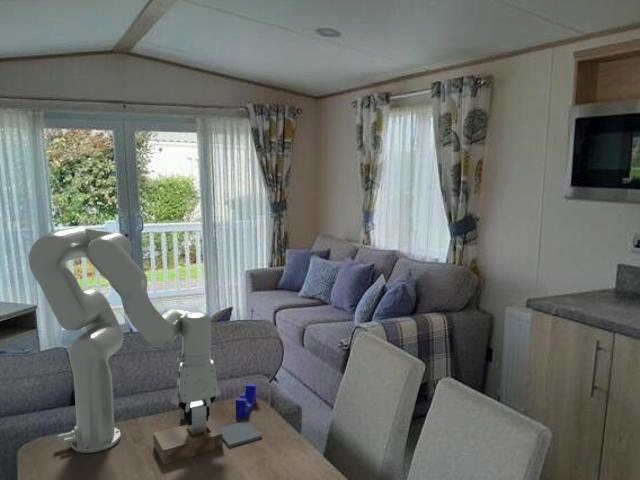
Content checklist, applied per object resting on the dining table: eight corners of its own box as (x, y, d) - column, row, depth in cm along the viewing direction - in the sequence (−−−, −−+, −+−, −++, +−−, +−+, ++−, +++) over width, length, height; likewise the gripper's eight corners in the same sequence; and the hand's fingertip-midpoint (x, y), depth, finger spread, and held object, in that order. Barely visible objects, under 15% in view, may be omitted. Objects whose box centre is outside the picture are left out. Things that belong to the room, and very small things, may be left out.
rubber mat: (229, 447, 137) (228, 444, 137) (216, 431, 145) (216, 429, 145) (262, 437, 142) (262, 435, 142) (247, 422, 150) (247, 420, 150)
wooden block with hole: (163, 464, 128) (163, 450, 128) (153, 446, 137) (153, 433, 136) (222, 447, 137) (222, 433, 136) (209, 431, 145) (209, 418, 145)
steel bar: (192, 443, 135) (191, 409, 134) (187, 437, 139) (187, 403, 137) (206, 440, 138) (206, 406, 136) (201, 433, 141) (201, 400, 140)
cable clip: (242, 400, 165) (242, 383, 165) (255, 401, 165) (255, 384, 164) (231, 418, 154) (230, 399, 153) (245, 419, 153) (245, 400, 152)
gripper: (169, 368, 127) (170, 435, 130) (230, 357, 136) (230, 419, 139) (161, 358, 134) (162, 422, 136) (220, 348, 143) (220, 408, 145)
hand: (196, 420), depth 137 cm, fingers closed on steel bar, 4 cm apart
